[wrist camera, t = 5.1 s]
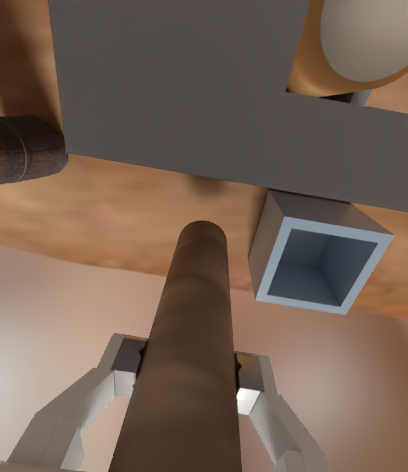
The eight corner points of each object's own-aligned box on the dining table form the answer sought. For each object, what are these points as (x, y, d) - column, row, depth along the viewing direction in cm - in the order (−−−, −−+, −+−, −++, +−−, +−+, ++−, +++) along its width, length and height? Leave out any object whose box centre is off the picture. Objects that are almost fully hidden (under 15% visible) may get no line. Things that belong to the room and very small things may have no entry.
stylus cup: (247, 258, 26) (255, 300, 21) (268, 189, 22) (284, 216, 17) (318, 270, 26) (345, 315, 21) (350, 204, 23) (394, 235, 17)
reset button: (266, 91, 16) (294, 78, 10) (290, -10, 13) (348, -113, 7) (338, 104, 16) (412, 99, 10) (375, 6, 14) (503, -82, 7)
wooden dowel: (176, 258, 21) (103, 523, 7) (181, 216, 19) (94, 475, 5) (221, 265, 21) (228, 539, 8) (231, 225, 19) (262, 497, 6)
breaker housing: (152, 129, 21) (65, 152, 9) (162, -97, 15) (-57, -873, 3) (318, 159, 21) (436, 217, 9) (398, -52, 15) (1009, -618, 3)
